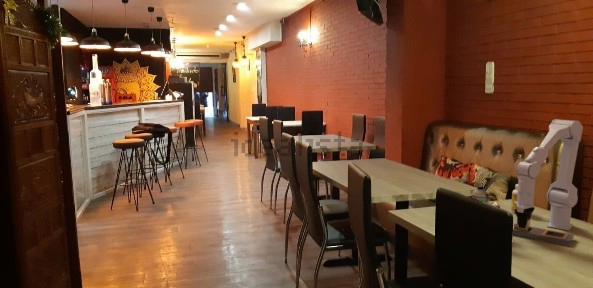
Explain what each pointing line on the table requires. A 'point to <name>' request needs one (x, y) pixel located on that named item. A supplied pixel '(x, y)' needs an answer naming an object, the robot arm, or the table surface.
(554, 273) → the table surface
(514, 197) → the supplement bottle
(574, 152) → the robot arm
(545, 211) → the table surface
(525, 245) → the table surface
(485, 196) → the spray can
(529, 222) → the tan square knob peg
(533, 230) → the grey slotted board
